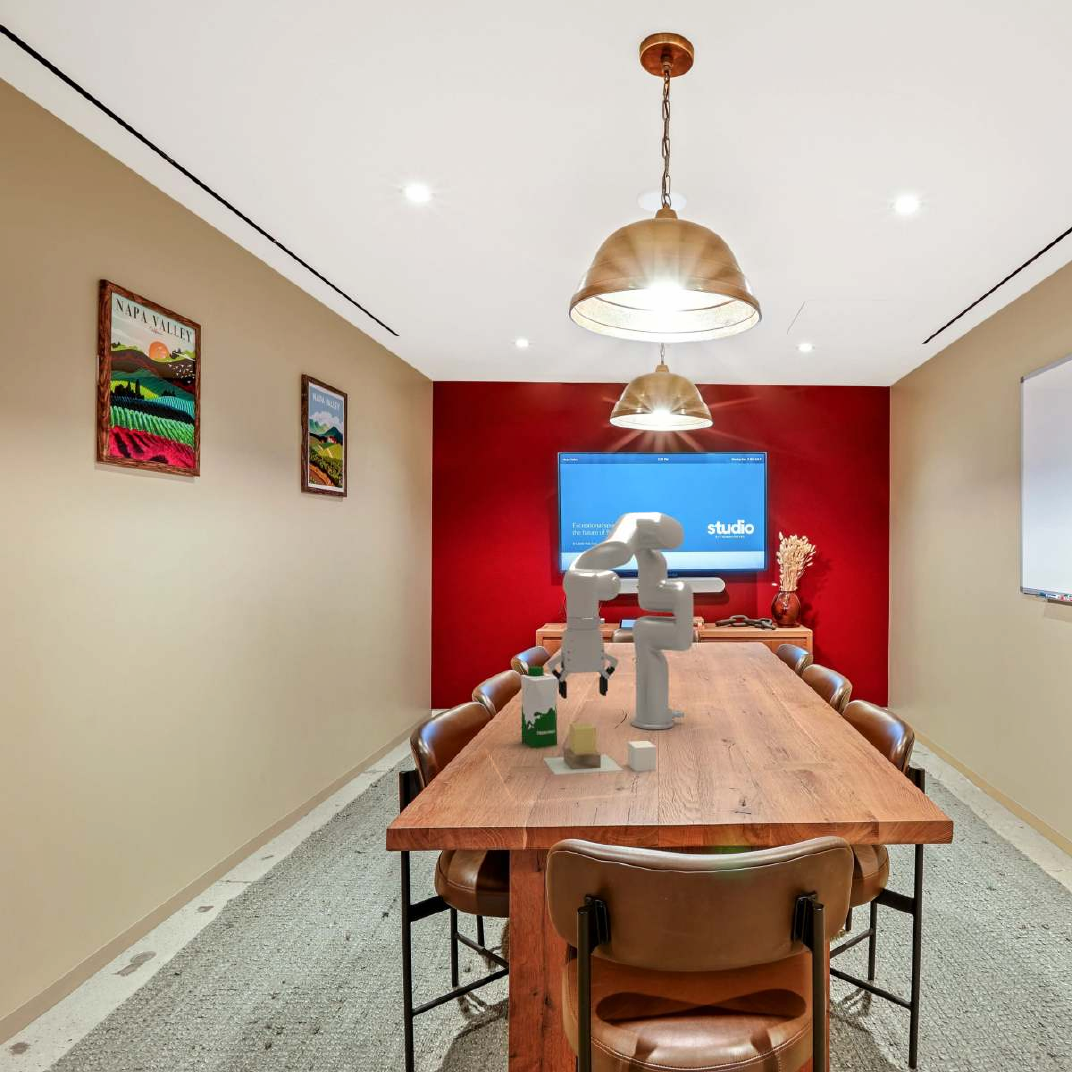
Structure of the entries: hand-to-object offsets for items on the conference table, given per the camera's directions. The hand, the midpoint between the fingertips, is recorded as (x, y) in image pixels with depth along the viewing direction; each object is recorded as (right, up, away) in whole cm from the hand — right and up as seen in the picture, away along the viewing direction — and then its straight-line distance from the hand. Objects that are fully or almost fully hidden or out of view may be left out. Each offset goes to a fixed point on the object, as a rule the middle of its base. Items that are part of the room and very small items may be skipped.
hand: (583, 696), depth 163 cm
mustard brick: (0, -13, -1) cm, 13 cm away
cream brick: (+13, -17, -3) cm, 22 cm away
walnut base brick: (0, -16, -1) cm, 16 cm away
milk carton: (-10, -17, +16) cm, 26 cm away
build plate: (0, -17, -1) cm, 17 cm away
